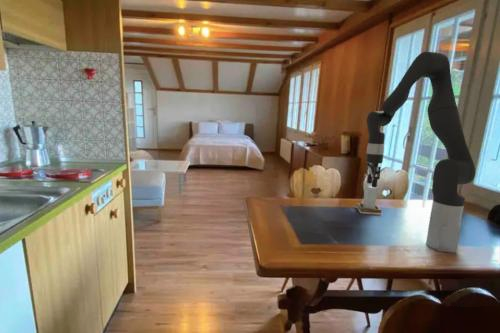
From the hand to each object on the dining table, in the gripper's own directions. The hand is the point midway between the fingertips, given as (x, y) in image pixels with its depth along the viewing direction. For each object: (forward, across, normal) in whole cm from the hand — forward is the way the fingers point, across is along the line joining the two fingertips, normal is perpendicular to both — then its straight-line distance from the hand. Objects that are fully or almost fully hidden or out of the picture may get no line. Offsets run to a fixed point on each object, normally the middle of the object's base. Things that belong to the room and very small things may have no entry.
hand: (371, 185), depth 138 cm
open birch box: (+14, 0, 0) cm, 14 cm away
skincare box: (+13, +1, 0) cm, 13 cm away
